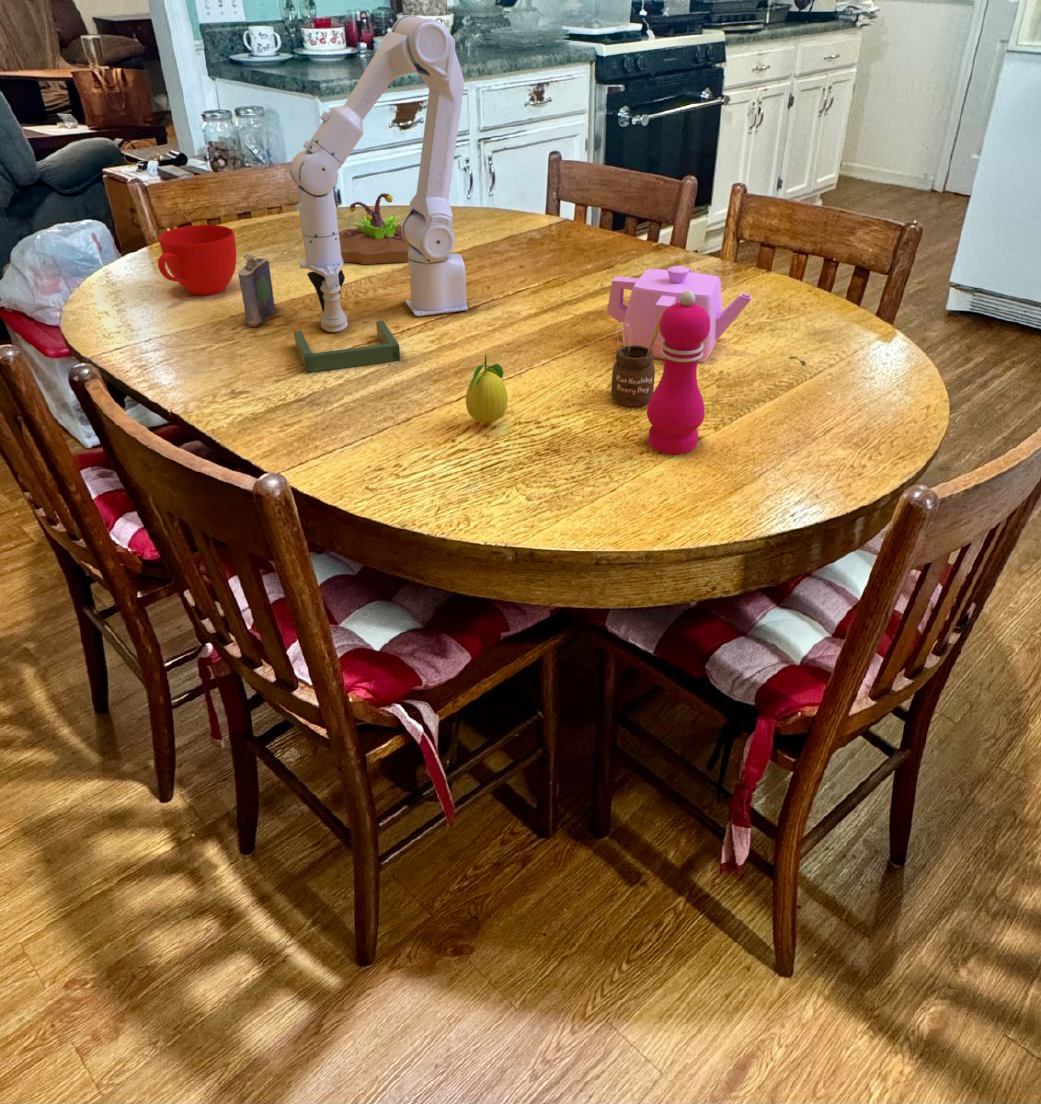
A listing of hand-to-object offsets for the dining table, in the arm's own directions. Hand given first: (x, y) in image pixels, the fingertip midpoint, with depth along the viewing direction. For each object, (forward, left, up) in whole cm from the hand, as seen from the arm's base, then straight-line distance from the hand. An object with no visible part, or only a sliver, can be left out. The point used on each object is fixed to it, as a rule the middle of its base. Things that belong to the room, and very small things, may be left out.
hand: (330, 315), depth 151 cm
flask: (+11, -7, -2) cm, 13 cm away
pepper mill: (-34, +58, -2) cm, 67 cm away
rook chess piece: (0, +3, -1) cm, 3 cm away
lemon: (-13, +45, -2) cm, 47 cm away
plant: (-17, -39, -2) cm, 43 cm away
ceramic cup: (+20, -24, -2) cm, 31 cm away
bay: (0, +13, -1) cm, 13 cm away
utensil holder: (-35, +44, -2) cm, 56 cm away
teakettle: (-50, +28, -2) cm, 57 cm away
